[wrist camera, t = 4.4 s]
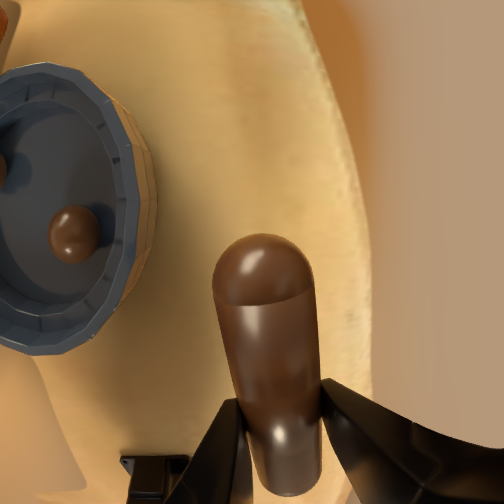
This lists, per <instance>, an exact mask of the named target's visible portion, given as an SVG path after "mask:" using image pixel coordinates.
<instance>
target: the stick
mask: <svg viewBox="0 0 504 504" xmlns="http://www.w3.org/2000/svg"><path fill="white" fill-rule="evenodd" d="M212 290H213V297H214V302H215V307H216V312H217V316H218V321H219V325H220V330H221V334H222V339H223V343H224V347H225V352H226V356H227V360H228V365H229V369H230V373H231V377H232V381H233V385H234V389H235V393H236V397H237V401H238V403H239V405H240V409H241V413H242V417H243V421H244V425H245V428H246V433H247V438H248V442H249V446H250V449H251V453H252V457H253V460H254V463H255V467H256V470H257V474H258V477H259V480H260V482H261V483H262V485H263V486H264V487H265V488H266V489H267V490H268V491H270V492H271V493H273V494H275V495H278V496H283V497H293V496H298V495H301V494H304V493H306V492H308V491H309V490H310V489H312V488H313V487H314V486H315V484H316V483H317V482H318V480H319V478H320V475H321V471H322V411H321V376H320V355H319V338H318V323H317V309H316V297H315V285H314V277H313V272H312V268H311V266H310V264H309V261H308V259H307V258H306V257H305V255H304V254H303V252H302V251H301V250H300V249H299V248H298V247H297V246H296V245H295V244H294V243H292V242H290V241H289V240H287V239H285V238H283V237H280V236H277V235H273V234H263V233H261V234H253V235H249V236H246V237H244V238H241V239H239V240H237V241H236V242H234V243H233V244H232V245H230V246H229V247H228V248H227V249H226V250H225V251H224V252H223V254H222V255H221V257H220V258H219V260H218V262H217V264H216V267H215V270H214V273H213V278H212Z"/></svg>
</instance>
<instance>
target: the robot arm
mask: <svg viewBox="0 0 504 504" xmlns="http://www.w3.org/2000/svg"><path fill="white" fill-rule="evenodd" d="M321 411H322V419H323V422H324V425H325V428H326V431H327V434H328V437H329V440H330V443H331V445H332V447H333V450H334V452H335V454H336V456H337V457H338V459H339V461H340V463H341V465H342V467H343V469H344V471H345V473H346V475H347V477H348V479H349V481H350V483H351V485H352V487H353V489H354V490H355V492H356V494H357V496H358V498H359V500H360V502H361V504H504V448H502V449H495V448H487V447H483V446H479V445H476V444H472V443H468V442H465V441H462V440H458V439H455V438H452V437H449V436H446V435H443V434H440V433H437V432H435V431H433V430H430V429H428V428H425V427H423V426H421V425H419V424H417V423H415V422H414V423H413V422H412V421H411V420H409V419H407V418H405V417H403V416H400V415H398V414H397V413H395V412H393V411H391V410H389V409H387V408H384V407H383V406H381V405H379V404H377V403H375V402H373V401H371V400H369V399H367V398H366V397H364V396H362V395H360V394H358V393H356V392H354V391H353V390H351V389H349V388H347V387H345V386H343V385H342V384H340V383H338V382H336V381H334V380H333V379H331V378H326V379H323V380H321ZM120 463H121V464H122V465H123V467H124V468H125V469H126V471H127V472H128V473H129V475H130V476H131V479H130V484H129V489H128V497H127V502H126V504H253V478H252V461H251V455H250V449H249V444H248V438H247V433H246V428H245V425H244V421H243V417H242V413H241V409H240V405H239V403H238V401H237V398H232V399H226V400H225V401H224V402H223V404H222V406H221V408H220V409H219V411H218V413H217V415H216V417H215V418H214V420H213V422H212V424H211V425H210V427H209V429H208V431H207V433H206V434H205V436H204V438H203V440H202V441H201V443H200V445H199V447H198V448H197V450H196V452H195V453H194V455H193V457H192V459H191V458H190V457H189V456H187V455H170V456H121V457H120Z"/></svg>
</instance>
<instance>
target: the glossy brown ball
mask: <svg viewBox="0 0 504 504" xmlns="http://www.w3.org/2000/svg"><path fill="white" fill-rule="evenodd" d="M6 178H7V163H6V160H5V158H4V157H3V155H2V154H1V153H0V190H1V189H2V187H3V186H4V184H5V181H6Z"/></svg>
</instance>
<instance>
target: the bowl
mask: <svg viewBox="0 0 504 504" xmlns="http://www.w3.org/2000/svg"><path fill="white" fill-rule="evenodd" d="M0 153H1V154H2V155H3V157H4V158H5V160H6V163H7V178H6V181H5V184H4V186H3V187H2V189H1V190H0V344H2V345H3V346H6V347H8V348H11V349H13V350H16V351H19V352H22V353H24V354H27V355H31V356H40V355H61V354H64V353H66V352H68V351H70V350H72V349H74V348H76V347H77V346H79V345H81V344H83V343H85V342H87V341H89V340H91V339H92V338H93V337H94V336H95V335H96V333H97V332H98V331H99V330H100V328H101V327H102V326H103V325H104V324H105V322H106V321H107V320H108V319H109V317H110V316H111V315H112V314H113V313H114V311H115V310H116V309H117V308H118V306H119V305H120V304H121V302H122V301H123V300H124V299H125V297H126V296H127V295H128V293H129V292H130V291H131V290H132V288H133V287H134V286H135V284H136V283H137V281H138V279H139V277H140V274H141V271H142V269H143V266H144V264H145V261H146V259H147V257H148V254H149V252H150V249H151V247H152V243H153V239H154V229H155V219H156V210H157V202H158V195H157V190H156V184H155V178H154V171H153V165H152V158H151V154H150V151H149V149H148V147H147V145H146V143H145V141H144V139H143V137H142V135H141V133H140V131H139V129H138V127H137V125H136V123H135V121H134V119H133V117H132V116H131V114H130V113H128V112H127V111H126V110H125V109H124V108H123V107H122V106H121V105H120V104H119V103H118V102H117V101H116V100H114V99H113V98H112V97H111V96H110V95H109V94H108V93H107V92H106V91H104V90H103V89H102V88H101V87H100V86H98V85H97V84H96V83H95V82H94V81H92V80H91V79H90V78H89V77H88V76H86V75H85V74H84V73H83V72H81V71H80V70H76V69H73V68H70V67H66V66H63V65H59V64H55V63H51V62H41V63H35V64H30V65H25V66H20V67H15V68H13V69H11V70H9V71H7V72H6V73H4V74H3V75H1V76H0ZM69 205H80V206H83V207H86V208H87V209H89V210H90V211H91V212H92V213H93V214H94V215H95V216H96V218H97V220H98V222H99V225H100V229H101V238H100V243H99V246H98V248H97V250H96V251H95V253H94V254H93V255H92V256H91V257H90V258H89V259H87V260H86V261H83V262H81V263H76V264H71V263H66V262H63V261H62V260H60V259H58V258H57V257H56V256H55V255H54V254H53V252H52V251H51V249H50V247H49V244H48V239H47V230H48V225H49V223H50V220H51V219H52V217H53V216H54V214H55V213H56V212H57V211H59V210H60V209H61V208H63V207H66V206H69Z"/></svg>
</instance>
